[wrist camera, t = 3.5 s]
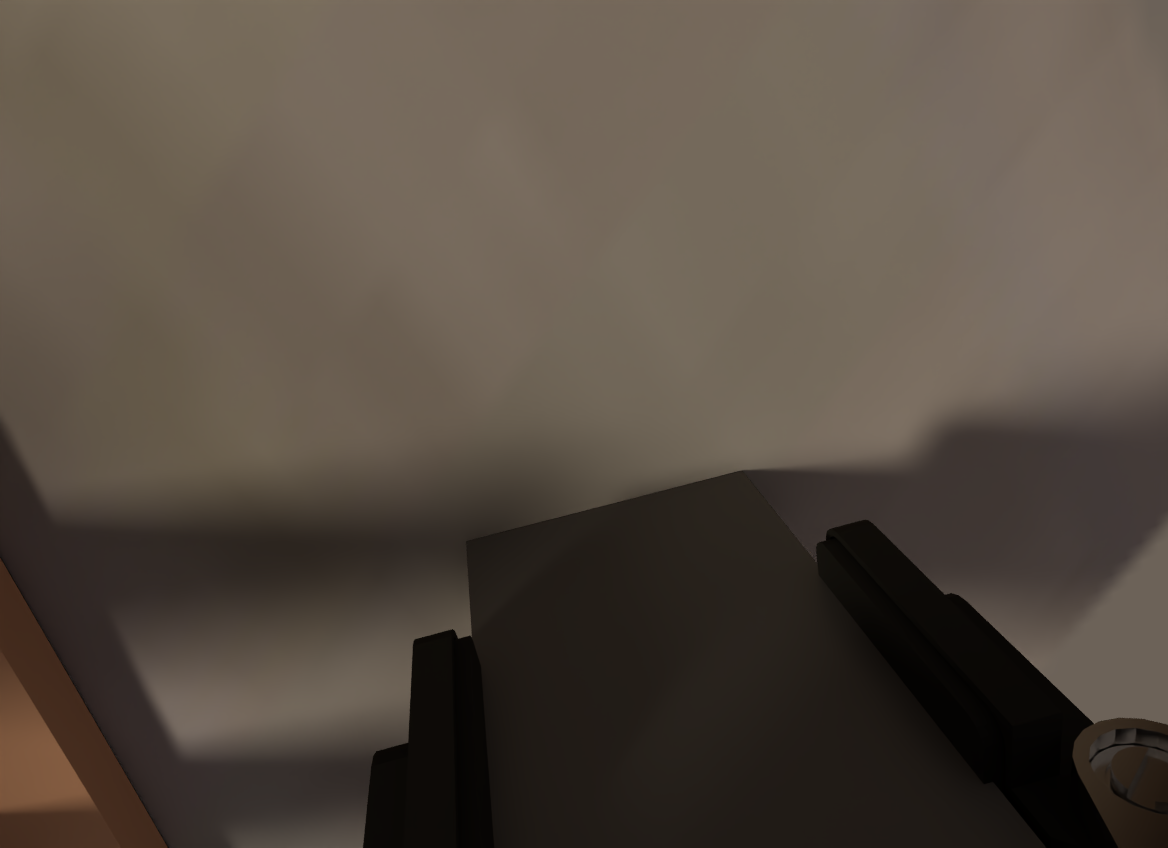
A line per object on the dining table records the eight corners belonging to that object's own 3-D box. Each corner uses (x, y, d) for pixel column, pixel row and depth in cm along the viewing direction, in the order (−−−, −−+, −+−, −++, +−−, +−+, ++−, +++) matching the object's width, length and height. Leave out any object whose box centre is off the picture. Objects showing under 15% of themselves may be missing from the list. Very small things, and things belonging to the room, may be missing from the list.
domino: (466, 541, 14) (517, 1381, 5) (742, 470, 14) (1270, 1126, 5) (488, 615, 15) (570, 1480, 6) (751, 546, 15) (1239, 1248, 6)
